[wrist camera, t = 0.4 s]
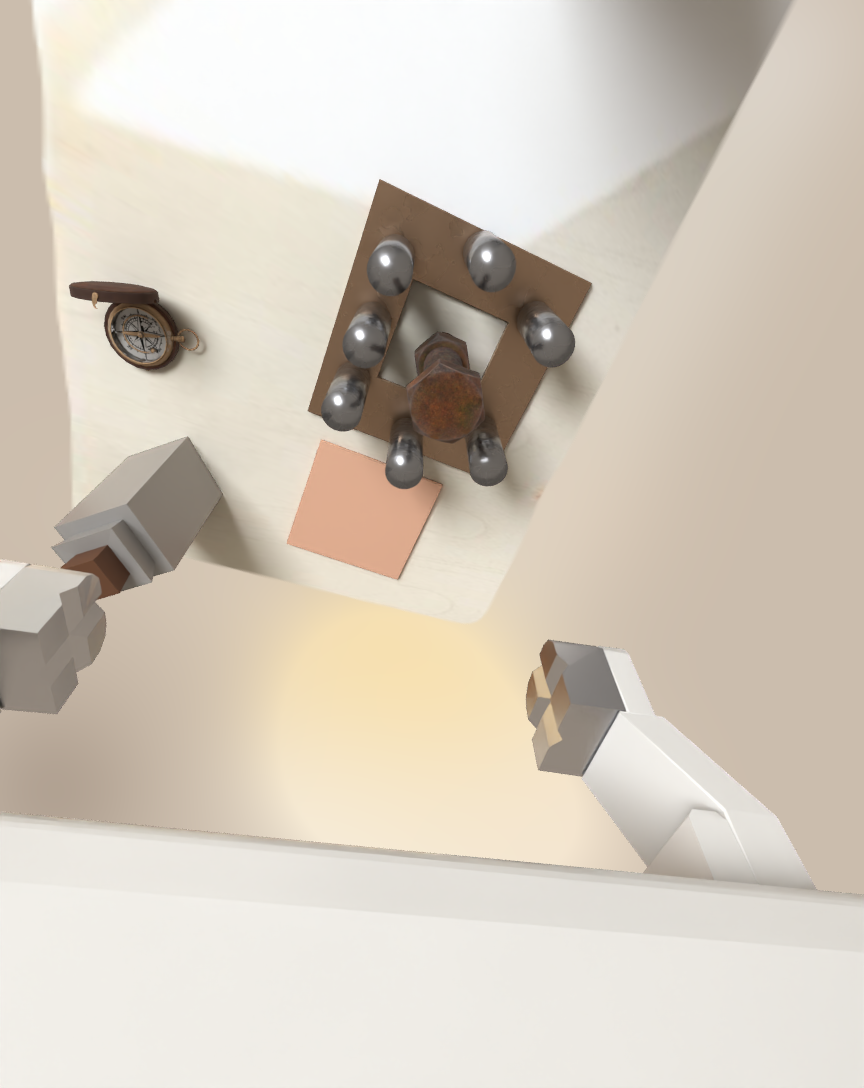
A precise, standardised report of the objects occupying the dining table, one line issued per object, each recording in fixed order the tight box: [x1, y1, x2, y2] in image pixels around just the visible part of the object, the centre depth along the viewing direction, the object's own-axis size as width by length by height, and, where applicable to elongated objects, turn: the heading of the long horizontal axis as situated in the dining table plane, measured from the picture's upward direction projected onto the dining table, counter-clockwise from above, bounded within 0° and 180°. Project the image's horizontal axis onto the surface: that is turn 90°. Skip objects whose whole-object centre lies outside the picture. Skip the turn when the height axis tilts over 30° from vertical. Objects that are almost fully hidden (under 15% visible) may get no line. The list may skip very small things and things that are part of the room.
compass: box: [69, 281, 199, 371], centre depth 46 cm, size 8×8×7 cm
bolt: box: [406, 332, 485, 444], centre depth 45 cm, size 6×5×15 cm
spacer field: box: [308, 179, 592, 489], centre depth 47 cm, size 20×19×9 cm
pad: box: [287, 439, 442, 579], centre depth 60 cm, size 13×13×1 cm
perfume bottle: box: [52, 436, 222, 600], centre depth 50 cm, size 7×7×18 cm
